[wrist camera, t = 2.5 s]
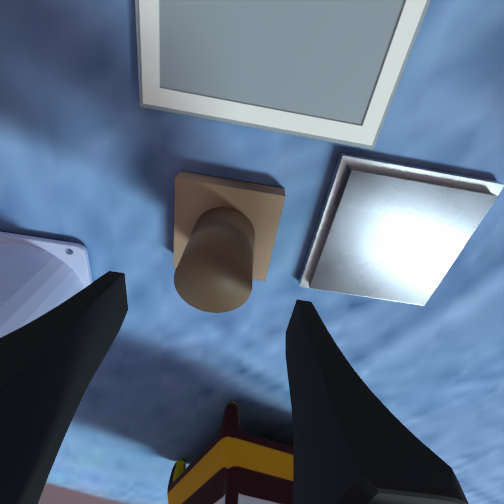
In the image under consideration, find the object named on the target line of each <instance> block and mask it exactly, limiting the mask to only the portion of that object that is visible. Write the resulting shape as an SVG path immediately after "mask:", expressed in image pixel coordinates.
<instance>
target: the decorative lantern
mask: <svg viewBox="0 0 504 504" xmlns="http://www.w3.org/2000/svg"><path fill="white" fill-rule="evenodd" d="M167 493H168V503H169V504H293V446H289V445H286V444H282V443H279V442H275V441H272V440H269V439H265V438H262V437H258V436H255V435H252V434H249V433H247V432H246V431H244V430H243V429H242V428H241V426H240V422H239V412H238V406H237V404H236V403H235V402H230V403H228V404H227V406H226V408H225V411H224V416H223V420H222V425H221V429H220V431H219V433H218V435H217V436H216V438H215V439H214V440H213V441H212V442H211V443H210V444H209V445H208V446H207V447H206V448H205V449H204V450H203V451H202V453H201V454H200V455H199V456H198V457H197V458H196V459H195V460H194V461H193V462H192V463H191V464H190V465H189V466H188V467H187V468H186V465H185V462H184V461H183V460H178V461H177V462H176V463H175V465H174V467H173V469H172V472H171V476H170V480H169V485H168V492H167Z"/></svg>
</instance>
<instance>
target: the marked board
mask: <svg viewBox="0 0 504 504" xmlns="http://www.w3.org/2000/svg"><path fill="white" fill-rule="evenodd" d="M430 1H431V0H135V11H136V33H137V56H138V78H139V101H140V107H143V108H149V109H154V110H160V111H165V112H171V113H176V114H181V115H187V116H192V117H198V118H203V119H209V120H214V121H219V122H225V123H230V124H236V125H241V126H247V127H252V128H258V129H263V130H268V131H274V132H279V133H285V134H290V135H296V136H301V137H306V138H312V139H317V140H323V141H328V142H334V143H339V144H345V145H350V146H355V147H361V148H366V149H372V150H373V149H374V147H375V144H376V142H377V139H378V136H379V134H380V131H381V129H382V126H383V123H384V121H385V118H386V116H387V113H388V110H389V108H390V105H391V103H392V100H393V97H394V95H395V92H396V90H397V87H398V84H399V82H400V79H401V77H402V74H403V71H404V69H405V66H406V64H407V61H408V59H409V56H410V53H411V51H412V48H413V46H414V43H415V40H416V38H417V35H418V33H419V30H420V27H421V25H422V22H423V20H424V17H425V14H426V12H427V9H428V7H429V4H430Z"/></svg>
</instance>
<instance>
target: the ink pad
mask: <svg viewBox="0 0 504 504" xmlns="http://www.w3.org/2000/svg"><path fill="white" fill-rule="evenodd" d="M503 187H504V184H502V183H500V182H498V181H495V180H489V179H484V178H478V177H473V176H467V175H462V174H456V173H451V172H445V171H440V170H434V169H429V168H423V167H418V166H412V165H407V164H401V163H396V162H390V161H385V160H379V159H374V158H368V157H363V156H357V155H352V154H346V153H341V152H340V155H339V158H338V161H337V164H336V168H335V171H334V174H333V177H332V180H331V183H330V186H329V189H328V192H327V195H326V198H325V201H324V204H323V207H322V210H321V214H320V217H319V220H318V223H317V226H316V229H315V232H314V235H313V238H312V241H311V244H310V247H309V250H308V253H307V256H306V260H305V263H304V266H303V269H302V272H301V275H300V278H299V287H305V288H312V289H318V290H325V291H331V292H338V293H344V294H351V295H357V296H364V297H371V298H377V299H384V300H390V301H397V302H403V303H410V304H417V305H423V306H424V305H425V304H426V302H427V301H428V299H429V298H430V296H431V295H432V293H433V292H434V290H435V289H436V287H437V286H438V284H439V283H440V281H441V280H442V278H443V277H444V275H445V274H446V272H447V271H448V269H449V268H450V267H451V265H452V264H453V262H454V261H455V259H456V258H457V256H458V255H459V253H460V252H461V250H462V249H463V247H464V246H465V244H466V243H467V241H468V240H469V238H470V237H471V235H472V234H473V232H474V231H475V229H476V228H477V227H478V225H479V224H480V222H481V221H482V219H483V218H484V216H485V215H486V213H487V212H488V210H489V209H490V207H491V206H492V204H493V203H494V201H495V200H496V198H497V197H498V194H499V193H500V191H501V190H502V189H503Z"/></svg>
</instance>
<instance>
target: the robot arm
mask: <svg viewBox="0 0 504 504" xmlns="http://www.w3.org/2000/svg"><path fill="white" fill-rule="evenodd" d="M69 249H71V250H72V251H70V250H69ZM127 311H128V304H127V294H126V284H125V274H124V273H119V272H112V271H109V272H107V273H106V274H104V275H103V276H101V277H100V278H98V279H97V280H95V281H94V282H93V281H92V275H91V270H90V264H89V259H88V253H87V249H86V248H85V247H84V246H83V245H81V244H78V243H71V242H65V241H58V240H52V239H45V238H39V237H33V236H26V235H20V234H13V233H7V232H0V504H38V501H39V499H40V496H41V493H42V491H43V488H44V486H45V483H46V481H47V478H48V475H49V473H50V470H51V468H52V465H53V463H54V461H55V458H56V456H57V453H58V451H59V448H60V446H61V443H62V441H63V439H64V437H65V434H66V432H67V430H68V427H69V425H70V423H71V420H72V418H73V416H74V414H75V411H76V409H77V407H78V405H79V403H80V401H81V398H82V396H83V394H84V392H85V390H86V388H87V386H88V384H89V382H90V381H91V379H92V377H93V375H94V374H95V372H96V370H97V369H98V367H99V365H100V363H101V362H102V360H103V358H104V356H105V355H106V353H107V351H108V350H109V348H110V346H111V344H112V343H113V341H114V339H115V337H116V336H117V334H118V332H119V330H120V328H121V325H122V323H123V321H124V318H125V316H126V313H127ZM286 362H287V371H288V380H289V388H290V397H291V405H292V417H293V504H468V502H467V499H466V497H465V495H464V493H463V490H462V488H461V486H460V484H459V482H458V480H457V478H456V476H455V474H454V472H453V470H452V468H451V467H450V466H449V465H447V464H446V463H445V462H444V461H443V460H442V459H441V458H439V457H438V456H437V455H436V454H435V453H434V452H432V451H431V450H430V449H429V448H428V447H427V446H425V445H424V444H423V443H422V442H421V441H420V440H419V439H418V438H416V437H415V436H414V435H413V434H412V433H411V432H410V431H409V430H408V429H407V428H406V427H405V426H404V425H403V424H402V423H401V422H400V421H399V420H398V419H397V418H396V417H395V416H394V415H393V414H392V413H391V412H390V411H389V410H388V409H387V408H386V407H385V406H384V405H383V404H382V402H381V401H380V400H379V399H378V398H377V397H376V396H375V395H374V394H373V393H372V391H371V390H370V389H369V388H368V387H367V386H366V384H365V383H364V382H363V381H362V379H361V378H360V377H359V376H358V374H357V373H356V372H355V371H354V369H353V368H352V367H351V365H350V364H349V362H348V361H347V360H346V358H345V357H344V355H343V354H342V352H341V351H340V349H339V348H338V346H337V345H336V343H335V342H334V340H333V338H332V337H331V335H330V334H329V332H328V330H327V329H326V327H325V325H324V323H323V322H322V320H321V318H320V316H319V315H318V313H317V311H316V309H315V307H314V306H313V304H312V302H309V301H302V300H297V301H296V304H295V307H294V310H293V313H292V316H291V319H290V322H289V325H288V328H287V330H286Z"/></svg>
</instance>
